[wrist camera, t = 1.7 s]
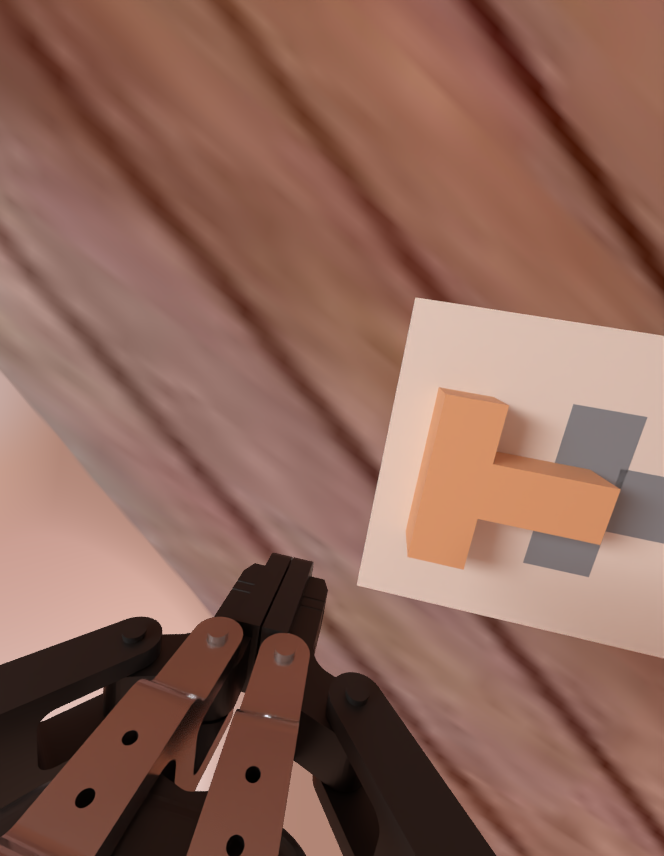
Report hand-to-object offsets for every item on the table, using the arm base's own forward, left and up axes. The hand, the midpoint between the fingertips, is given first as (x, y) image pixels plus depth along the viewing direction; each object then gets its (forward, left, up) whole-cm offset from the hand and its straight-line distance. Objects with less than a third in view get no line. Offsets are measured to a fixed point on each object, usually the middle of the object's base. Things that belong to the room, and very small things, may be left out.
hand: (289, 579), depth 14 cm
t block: (-12, 0, -18) cm, 22 cm away
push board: (-18, 0, -18) cm, 26 cm away
